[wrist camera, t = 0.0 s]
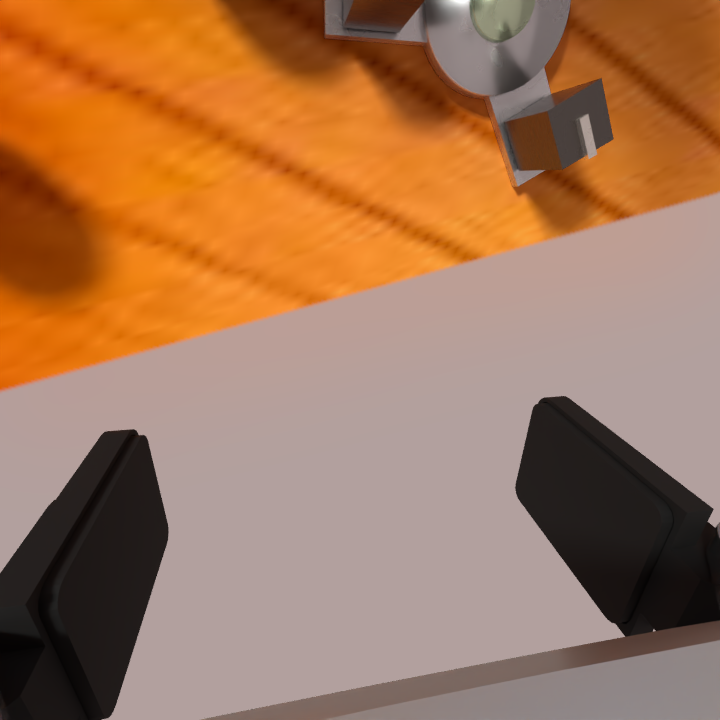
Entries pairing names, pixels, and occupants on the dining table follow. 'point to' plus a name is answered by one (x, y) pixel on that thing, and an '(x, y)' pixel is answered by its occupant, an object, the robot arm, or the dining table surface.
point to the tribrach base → (479, 52)
